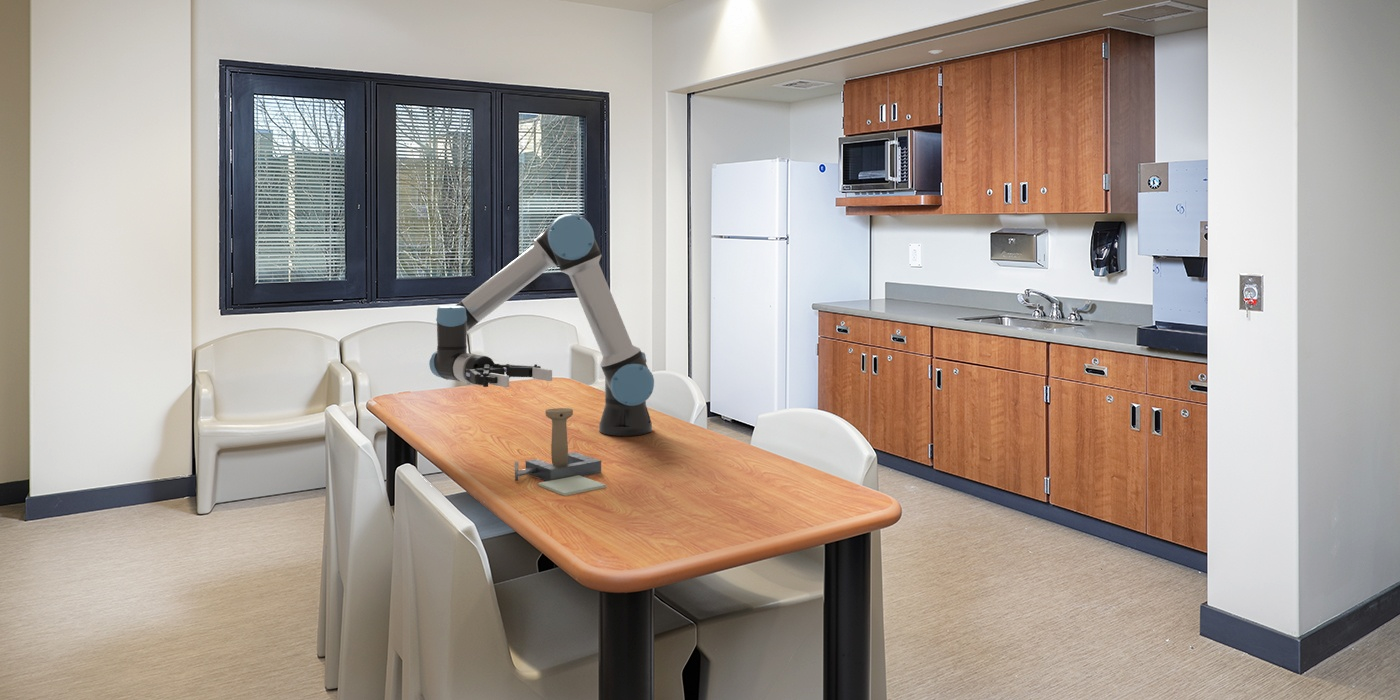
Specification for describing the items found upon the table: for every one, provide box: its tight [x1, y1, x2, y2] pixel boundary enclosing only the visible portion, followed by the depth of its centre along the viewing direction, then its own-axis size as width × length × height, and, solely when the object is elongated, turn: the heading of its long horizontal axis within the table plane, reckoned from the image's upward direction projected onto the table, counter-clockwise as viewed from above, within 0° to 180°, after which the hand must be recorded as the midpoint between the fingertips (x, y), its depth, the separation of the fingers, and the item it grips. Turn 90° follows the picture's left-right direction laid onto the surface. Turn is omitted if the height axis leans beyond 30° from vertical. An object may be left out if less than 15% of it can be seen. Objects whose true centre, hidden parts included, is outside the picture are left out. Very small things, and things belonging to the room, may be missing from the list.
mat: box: [537, 475, 607, 497], centre depth 218 cm, size 11×11×1 cm
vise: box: [514, 452, 602, 482], centre depth 228 cm, size 19×11×4 cm, turn 130°
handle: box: [545, 407, 574, 466], centre depth 230 cm, size 5×6×15 cm
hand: (530, 378), depth 234 cm, fingers open, 13 cm apart
